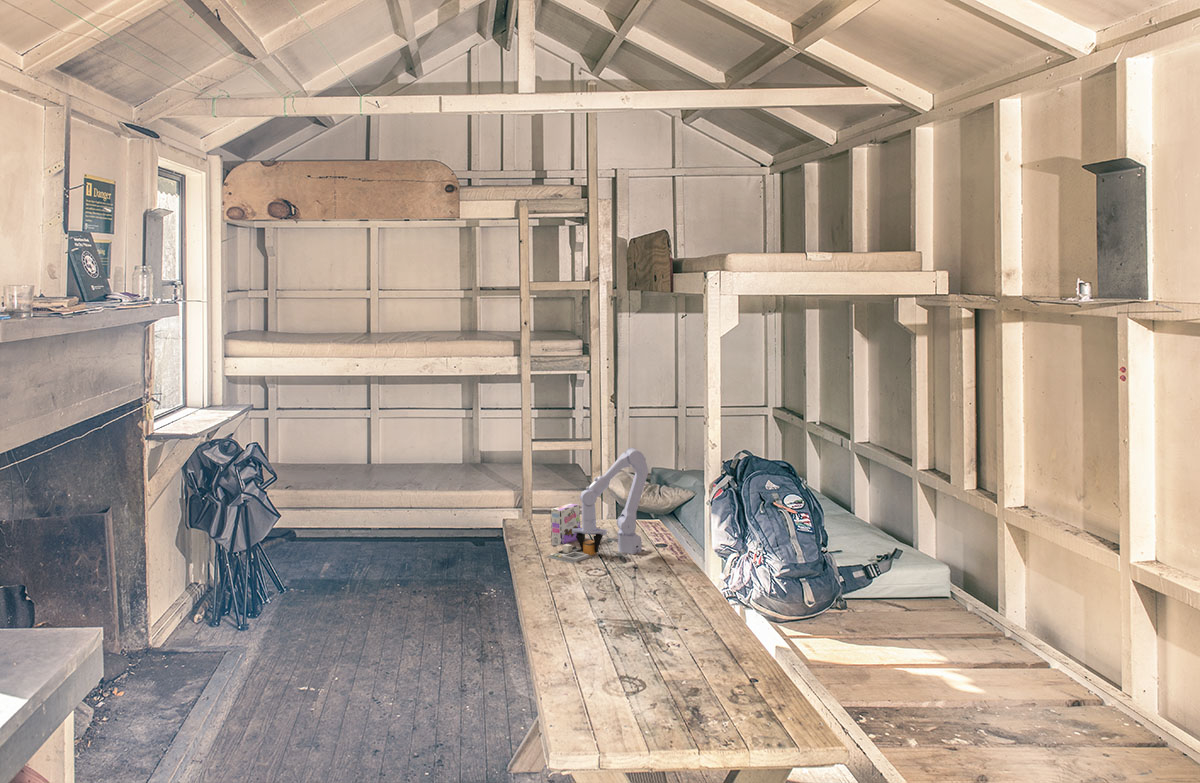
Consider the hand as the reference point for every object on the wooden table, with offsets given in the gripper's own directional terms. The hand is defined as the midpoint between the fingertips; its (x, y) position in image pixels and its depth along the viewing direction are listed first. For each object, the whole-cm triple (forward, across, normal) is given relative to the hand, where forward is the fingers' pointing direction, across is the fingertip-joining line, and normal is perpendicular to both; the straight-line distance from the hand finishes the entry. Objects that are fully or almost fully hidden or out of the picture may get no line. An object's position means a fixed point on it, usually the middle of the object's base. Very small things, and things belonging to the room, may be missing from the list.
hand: (589, 551), depth 386 cm
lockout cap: (+1, 0, 0) cm, 1 cm away
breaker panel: (+2, +6, +4) cm, 7 cm away
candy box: (+3, +18, -19) cm, 26 cm away
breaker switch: (+1, +10, +1) cm, 10 cm away
